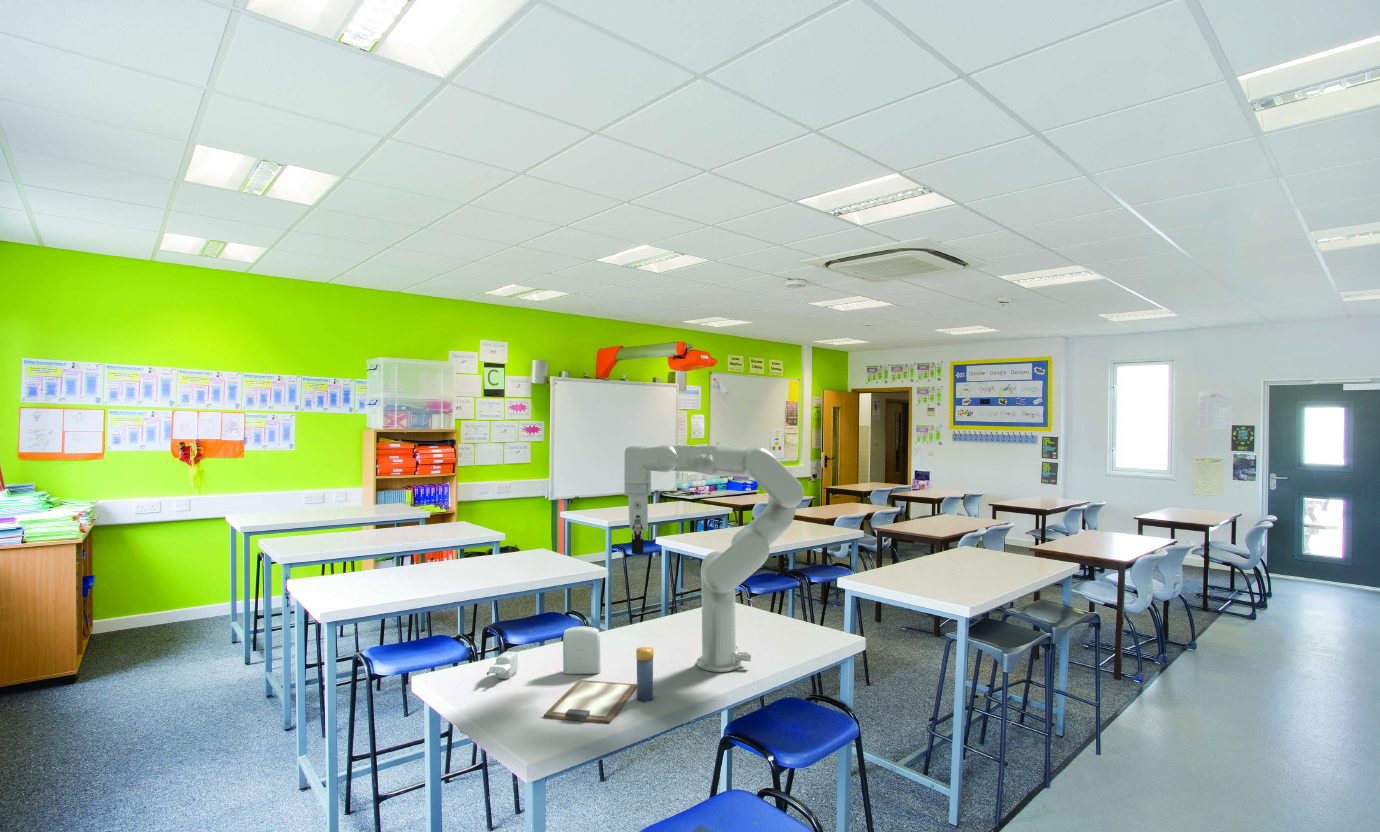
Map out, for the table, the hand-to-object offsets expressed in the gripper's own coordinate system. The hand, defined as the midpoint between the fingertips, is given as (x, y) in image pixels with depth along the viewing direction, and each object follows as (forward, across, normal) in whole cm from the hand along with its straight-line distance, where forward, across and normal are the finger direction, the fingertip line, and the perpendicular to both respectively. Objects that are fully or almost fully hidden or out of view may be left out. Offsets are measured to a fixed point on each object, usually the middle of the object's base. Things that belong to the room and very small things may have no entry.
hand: (637, 550), depth 184 cm
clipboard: (+32, -23, +11) cm, 41 cm away
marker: (+32, -22, -2) cm, 39 cm away
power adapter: (+33, -6, +36) cm, 49 cm away
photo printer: (+33, -3, +15) cm, 36 cm away
